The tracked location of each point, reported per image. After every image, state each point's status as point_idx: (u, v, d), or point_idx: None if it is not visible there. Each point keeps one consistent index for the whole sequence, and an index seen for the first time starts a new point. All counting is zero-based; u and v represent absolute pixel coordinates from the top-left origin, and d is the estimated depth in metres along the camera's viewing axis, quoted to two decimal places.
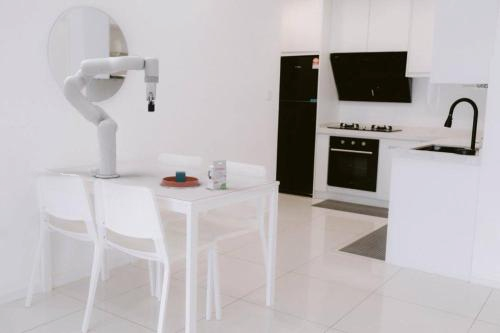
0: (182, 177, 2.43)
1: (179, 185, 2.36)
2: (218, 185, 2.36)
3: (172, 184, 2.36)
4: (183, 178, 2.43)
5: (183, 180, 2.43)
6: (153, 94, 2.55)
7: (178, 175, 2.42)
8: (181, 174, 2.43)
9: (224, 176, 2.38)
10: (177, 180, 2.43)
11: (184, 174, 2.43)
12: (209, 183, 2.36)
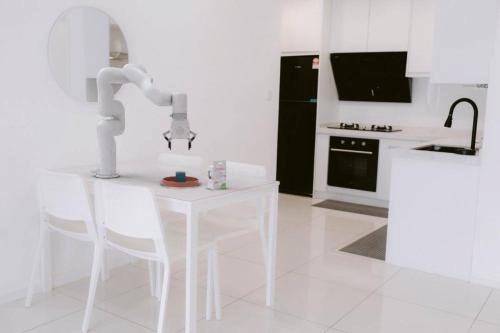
0: (182, 177, 2.43)
1: (179, 185, 2.36)
2: (218, 185, 2.36)
3: (172, 184, 2.36)
4: (183, 178, 2.43)
5: (183, 180, 2.43)
6: None
7: (178, 175, 2.42)
8: (181, 174, 2.43)
9: (224, 176, 2.38)
10: (177, 180, 2.43)
11: (184, 174, 2.43)
12: (209, 183, 2.36)
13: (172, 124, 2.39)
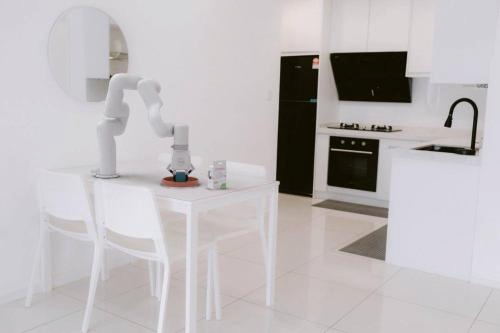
0: (182, 177, 2.43)
1: (179, 185, 2.36)
2: (218, 185, 2.36)
3: (172, 184, 2.36)
4: (183, 178, 2.43)
5: (183, 180, 2.43)
6: None
7: (178, 175, 2.42)
8: (181, 174, 2.43)
9: (224, 176, 2.38)
10: (177, 180, 2.43)
11: (184, 174, 2.43)
12: (209, 183, 2.36)
13: (173, 155, 2.40)
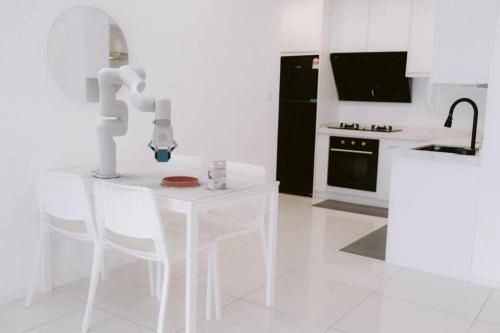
0: (164, 155, 2.29)
1: (179, 185, 2.36)
2: (218, 185, 2.36)
3: (172, 184, 2.36)
4: (165, 155, 2.29)
5: (165, 157, 2.29)
6: None
7: (160, 152, 2.28)
8: (163, 151, 2.29)
9: (224, 176, 2.38)
10: (159, 157, 2.29)
11: (166, 151, 2.29)
12: (209, 183, 2.36)
13: (154, 131, 2.26)
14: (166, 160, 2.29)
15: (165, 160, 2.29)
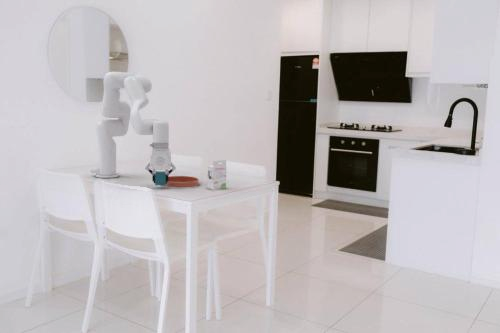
0: (162, 178, 2.29)
1: (179, 185, 2.36)
2: (218, 185, 2.36)
3: (172, 184, 2.36)
4: (163, 178, 2.29)
5: (163, 180, 2.29)
6: None
7: (158, 175, 2.29)
8: (161, 174, 2.29)
9: (224, 176, 2.38)
10: (157, 180, 2.29)
11: (164, 174, 2.29)
12: (209, 183, 2.36)
13: (152, 154, 2.27)
14: (164, 183, 2.30)
15: (163, 183, 2.30)
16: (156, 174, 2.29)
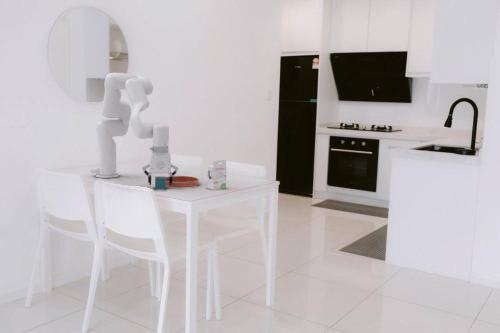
0: (162, 183, 2.30)
1: (179, 185, 2.36)
2: (218, 185, 2.36)
3: (172, 184, 2.36)
4: (163, 183, 2.30)
5: (163, 186, 2.30)
6: None
7: (158, 180, 2.29)
8: (161, 179, 2.29)
9: (224, 176, 2.38)
10: (157, 186, 2.29)
11: (164, 179, 2.29)
12: (209, 183, 2.36)
13: (152, 158, 2.27)
14: (164, 188, 2.30)
15: (163, 188, 2.30)
16: (156, 179, 2.29)
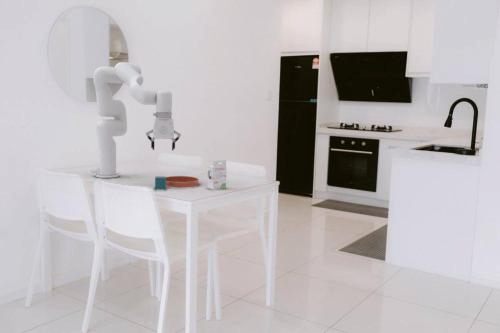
0: (162, 183, 2.30)
1: (179, 185, 2.36)
2: (218, 185, 2.36)
3: (172, 184, 2.36)
4: (163, 183, 2.30)
5: (163, 186, 2.30)
6: None
7: (158, 180, 2.29)
8: (161, 179, 2.29)
9: (224, 176, 2.38)
10: (157, 186, 2.29)
11: (164, 179, 2.29)
12: (209, 183, 2.36)
13: (155, 123, 2.32)
14: (164, 188, 2.30)
15: (163, 188, 2.30)
16: (156, 179, 2.29)
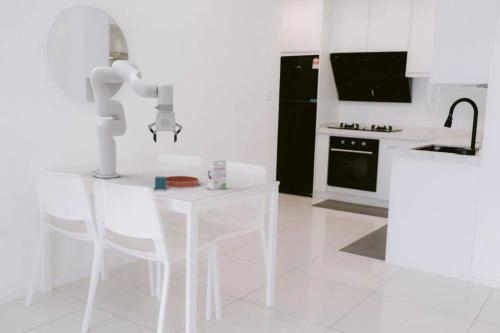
0: (162, 183, 2.30)
1: (179, 185, 2.36)
2: (218, 185, 2.36)
3: (172, 184, 2.36)
4: (163, 183, 2.30)
5: (163, 186, 2.30)
6: None
7: (158, 180, 2.29)
8: (161, 179, 2.29)
9: (224, 176, 2.38)
10: (157, 186, 2.29)
11: (164, 179, 2.29)
12: (209, 183, 2.36)
13: (157, 116, 2.34)
14: (164, 188, 2.30)
15: (163, 188, 2.30)
16: (156, 179, 2.29)
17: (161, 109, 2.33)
